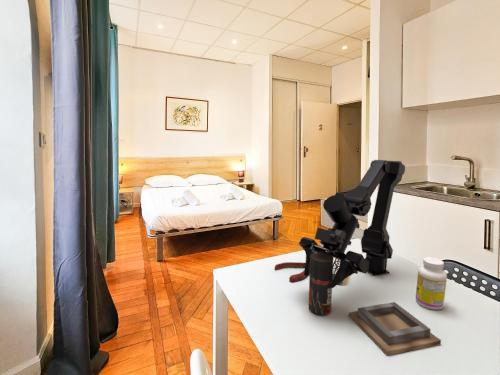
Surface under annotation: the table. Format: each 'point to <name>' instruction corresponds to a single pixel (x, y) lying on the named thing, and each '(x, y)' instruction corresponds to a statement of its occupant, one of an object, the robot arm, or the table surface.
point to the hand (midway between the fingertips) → (317, 281)
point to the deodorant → (320, 283)
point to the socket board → (393, 328)
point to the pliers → (292, 265)
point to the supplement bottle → (431, 284)
